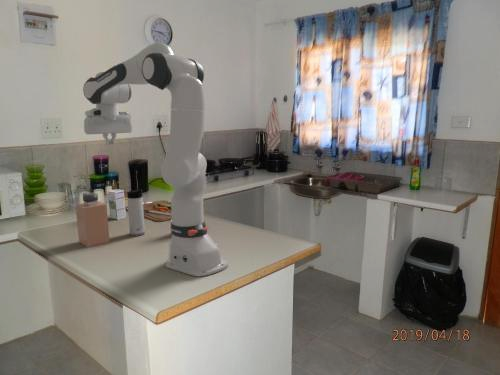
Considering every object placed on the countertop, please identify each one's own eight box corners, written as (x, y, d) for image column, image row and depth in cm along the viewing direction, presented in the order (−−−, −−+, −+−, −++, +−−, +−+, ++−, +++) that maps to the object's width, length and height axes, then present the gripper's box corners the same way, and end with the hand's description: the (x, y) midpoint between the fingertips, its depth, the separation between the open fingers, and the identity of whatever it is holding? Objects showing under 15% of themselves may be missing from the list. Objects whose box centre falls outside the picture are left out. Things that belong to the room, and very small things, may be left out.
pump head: (102, 223, 158) (99, 194, 155) (88, 226, 154) (85, 197, 152) (93, 219, 164) (90, 191, 162) (79, 222, 160) (77, 193, 158)
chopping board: (206, 214, 203) (206, 209, 203) (161, 224, 185) (161, 218, 184) (161, 201, 235) (160, 196, 235) (119, 209, 217) (119, 203, 216)
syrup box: (126, 217, 197) (124, 189, 194) (117, 220, 192) (114, 191, 189) (119, 216, 200) (117, 188, 197) (109, 218, 195) (107, 190, 192)
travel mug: (141, 236, 166) (138, 191, 162) (127, 235, 167) (124, 190, 163) (148, 232, 172) (145, 188, 168) (134, 231, 173) (131, 187, 169)
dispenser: (109, 242, 159) (106, 200, 156) (87, 247, 153) (83, 204, 150) (100, 237, 165) (97, 197, 162) (79, 242, 159) (75, 200, 156)
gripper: (127, 111, 174) (129, 142, 177) (81, 112, 160) (84, 145, 163) (133, 111, 170) (135, 143, 173) (87, 111, 156) (90, 146, 159)
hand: (110, 144), depth 168 cm, fingers closed
